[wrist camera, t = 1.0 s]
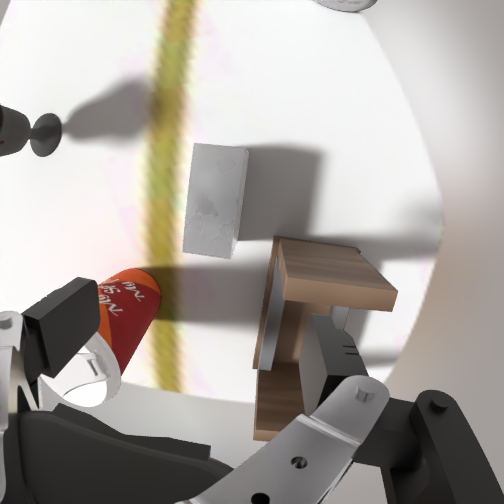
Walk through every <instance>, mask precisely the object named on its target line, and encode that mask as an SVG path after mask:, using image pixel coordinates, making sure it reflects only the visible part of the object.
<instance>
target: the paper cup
mask: <svg viewBox="0 0 504 504" xmlns="http://www.w3.org/2000/svg"><path fill="white" fill-rule="evenodd" d="M98 295H99V306H100V317H101V320H100V326H99V329H98V331H97V332H96V333H95V334H94V335H93V336H92V337H91V338H90V340H89V341H88V342H87V343H86V344H85V345H84V346H83V347H82V348H81V349H80V350H79V351H78V353H77V354H76V355H75V356H74V357H73V358H72V359H71V360H70V361H69V363H68V364H67V365H66V366H65V367H64V368H63V369H62V370H61V372H60V373H59V374H58V375H57V376H56V377H55V378H54V379H53V378H50V377H48V376H45V375H43V374H41V377H42V378H43V379H44V381H45V382H46V383H47V384H48V385H49V386H50V387H51V388H52V389H53V390H54V391H55V392H56V393H58V394H59V395H60V396H61V397H63V398H64V399H66V400H67V401H69V402H71V403H74V404H76V405H80V406H85V407H93V406H97V405H99V404H101V403H103V402H104V401H106V400H109V399H111V398H113V397H114V396H115V395H116V394H117V392H118V390H119V388H120V385H121V376H122V374H123V372H124V370H125V369H126V367H127V365H128V363H129V361H130V359H131V358H132V356H133V354H134V352H135V350H136V349H137V347H138V345H139V343H140V342H141V340H142V338H143V336H144V334H145V333H146V331H147V329H148V327H149V326H150V324H151V322H152V320H153V318H154V317H155V315H156V313H157V311H158V309H159V307H160V303H161V292H160V289H159V286H158V284H157V283H156V281H155V280H154V279H153V278H152V277H151V276H150V275H149V274H148V273H146V272H144V271H142V270H139V269H127V270H124V271H122V272H120V273H118V274H116V275H114V276H112V277H111V278H109V279H107V280H106V281H104V282H102V283H101V284H99V285H98ZM65 394H66V395H65ZM64 395H65V396H64Z"/></svg>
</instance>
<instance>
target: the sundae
mask: <svg viewBox="0 0 504 504" xmlns="http://www.w3.org/2000/svg"><path fill="white" fill-rule="evenodd" d="M60 134H61V126H60V122H59V120H58V118H57V117H56V116H55V115H54V114H49V113H47V114H44V115H43V116H41V117H40V118H39V119H38V120H37V121H36V123H35V124H34V126H33V128H31V127H30V123H29V120H28V118H27V117H26V116H25V115H24V114H22V113H20V112H18V111H16V110H13V109H10V108H7V107H4V106H2V105H0V156H5V155H9V154H12V153H16V152H18V151H20V150H21V149H22V148H23V147H24V146H25V144H26V143H27V141H28V139H30V144H31V147H32V150H33V152H34V153H35V154H36V155H37V156H40V157H45V156H47V155H49V154H51V153H52V152H53V151H54V150H55V148H56V146H57V144H58V142H59V139H60Z"/></svg>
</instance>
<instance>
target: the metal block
mask: <svg viewBox="0 0 504 504" xmlns="http://www.w3.org/2000/svg"><path fill="white" fill-rule="evenodd" d="M248 160H249V153H248V151H247V150H246V149H245V148H239V147H230V146H221V145H210V144H199V143H194V147H193V155H192V163H191V171H190V179H189V188H188V197H187V207H186V217H185V228H184V239H183V252H185V253H192V254H199V255H205V256H212V257H219V258H226V259H231V256H232V254H233V251H234V249H235V246H236V244H237V241H238V234H239V226H240V219H241V211H242V204H243V196H244V189H245V181H246V174H247V167H248Z"/></svg>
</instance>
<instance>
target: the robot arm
mask: <svg viewBox="0 0 504 504" xmlns="http://www.w3.org/2000/svg"><path fill="white" fill-rule="evenodd" d="M313 1H315V2H317V3H319V4H321V5H323V6H325V7H328V8H332V9H335V10H341V11H360V10H364V9H367V8H369V7H371V6H372V5H374V4H375V3H376V1H377V0H313ZM100 320H101V317H100V306H99V295H98V285H97V282H96V281H95V280H91V279H86V278H81V277H77V278H75V279H74V280H72V281H71V282H69V283H68V284H66V285H65V286H63V287H62V288H60V289H57V290H54V291H53V292H51V293H50V294H49V295H47V297H44V298H43V299H41V301H38V302H37V303H36V304H34V305H33V306H31V307H30V308H28V309H27V310H26V311H24V312H23V313H21V314H20V313H18V312H15V311H4V312H0V504H323V503H324V502H325V501H326V499H327V498H328V497H329V496H330V494H331V493H332V492H333V491H334V489H335V488H336V487H337V485H338V484H339V483H340V481H341V480H342V479H343V477H344V476H345V475H346V473H347V472H348V470H349V469H350V468H351V466H352V465H353V463H354V462H356V463H361V464H367V465H371V466H377V467H380V469H381V474H382V478H383V483H384V488H385V492H386V498H387V503H388V504H504V494H503V492H502V490H501V488H500V485H499V483H498V481H497V479H496V477H495V474H494V472H493V470H492V468H491V466H490V464H489V462H488V460H487V458H486V456H485V454H484V452H483V450H482V448H481V446H480V444H479V442H478V440H477V438H476V437H475V435H474V433H473V431H472V429H471V427H470V425H469V423H468V422H467V420H466V418H465V416H464V415H463V413H462V411H461V409H460V407H459V406H458V404H457V402H456V401H455V400H454V399H453V398H452V397H451V396H449V395H448V394H446V393H444V392H441V391H438V390H426V391H423V392H421V393H420V394H419V395H418V397H417V399H416V401H415V402H409V401H404V400H399V399H394V398H391V397H390V394H389V391H388V389H387V387H386V386H385V385H384V384H383V383H381V382H380V381H378V380H376V379H374V378H372V377H369V375H368V373H367V370H366V368H365V366H364V363H363V361H362V359H361V356H360V355H359V352H358V350H357V348H356V345H355V343H354V341H353V338H352V337H351V336H350V335H349V334H348V333H346V332H345V331H344V330H341V329H336V327H335V324H334V322H333V319H332V317H331V315H324V314H314V313H310V314H309V316H308V319H307V324H306V328H305V333H304V337H303V341H302V346H301V350H300V356H299V370H300V378H301V386H302V394H303V401H304V410H305V414H300V415H299V416H297V417H296V418H295V419H294V420H293V421H292V422H291V423H290V424H289V425H287V426H286V427H285V428H284V429H283V430H282V431H281V432H280V433H278V434H277V435H276V436H275V437H274V438H273V439H272V440H270V441H269V442H268V443H267V444H266V445H265V446H264V447H262V448H261V449H260V450H258V451H257V452H256V453H255V454H254V455H252V456H251V457H250V458H249V459H247V460H246V461H245V462H244V463H242V464H241V465H240V466H238V467H237V468H236V469H233V468H231V467H230V466H228V465H226V464H224V463H222V462H220V461H218V460H216V459H213V458H210V450H211V446H209V445H204V444H198V443H193V442H188V441H182V440H178V439H173V438H169V437H148V436H147V437H146V436H134V435H125V434H122V433H120V432H118V431H116V430H115V429H113V428H111V427H110V426H108V425H106V424H104V423H103V422H101V421H100V420H98V419H96V418H95V417H93V416H92V415H90V414H87V413H84V412H81V411H79V410H76V409H74V408H71V407H68V406H66V405H64V404H61V403H59V404H58V405H57V406H56V407H55V409H54V410H53V411H52V412H51V411H43V405H42V392H41V382H40V379H39V376H40V375H41V374H43V375H45V376H48V377H50V378H53V379H54V378H55V377H56V376H57V375H58V374H59V373H60V372H61V370H62V369H63V368H64V367H65V366H66V365H67V364H68V363H69V361H70V360H71V359H72V358H73V357H74V356H75V355H76V354H77V353H78V351H79V350H80V349H81V348H82V347H83V346H84V345H85V344H86V343H87V342H88V341H89V340H90V338H91V337H92V336H93V335H94V334H95V333H96V332H97V331H98V329H99V326H100Z"/></svg>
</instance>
